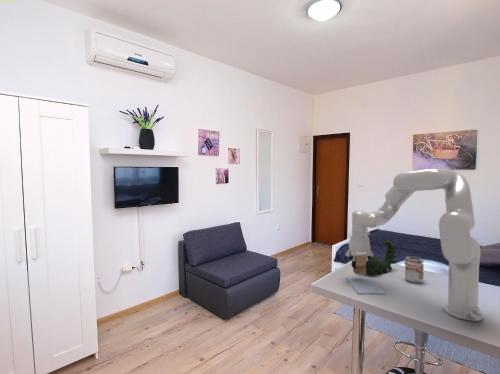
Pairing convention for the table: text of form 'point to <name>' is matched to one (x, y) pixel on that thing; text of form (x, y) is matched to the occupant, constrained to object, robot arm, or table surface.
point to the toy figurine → (381, 261)
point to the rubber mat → (364, 285)
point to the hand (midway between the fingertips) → (359, 267)
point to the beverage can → (414, 269)
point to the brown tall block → (360, 263)
